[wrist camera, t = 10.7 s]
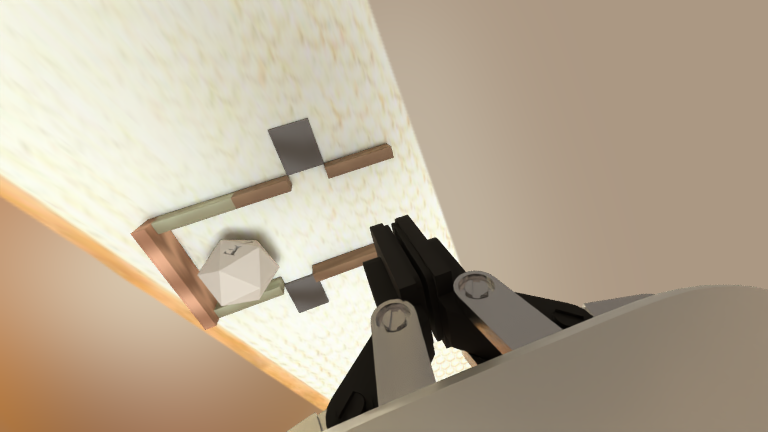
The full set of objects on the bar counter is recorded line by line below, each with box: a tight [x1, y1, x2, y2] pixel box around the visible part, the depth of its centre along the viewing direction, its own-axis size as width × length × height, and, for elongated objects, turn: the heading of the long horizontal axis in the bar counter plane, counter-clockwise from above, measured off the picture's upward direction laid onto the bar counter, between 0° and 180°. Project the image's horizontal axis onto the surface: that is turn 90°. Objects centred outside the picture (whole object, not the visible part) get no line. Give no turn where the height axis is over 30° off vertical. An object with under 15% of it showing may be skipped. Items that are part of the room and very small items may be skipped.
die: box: [198, 239, 279, 306], centre depth 37 cm, size 8×9×10 cm
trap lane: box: [131, 118, 394, 330], centre depth 39 cm, size 28×32×4 cm
